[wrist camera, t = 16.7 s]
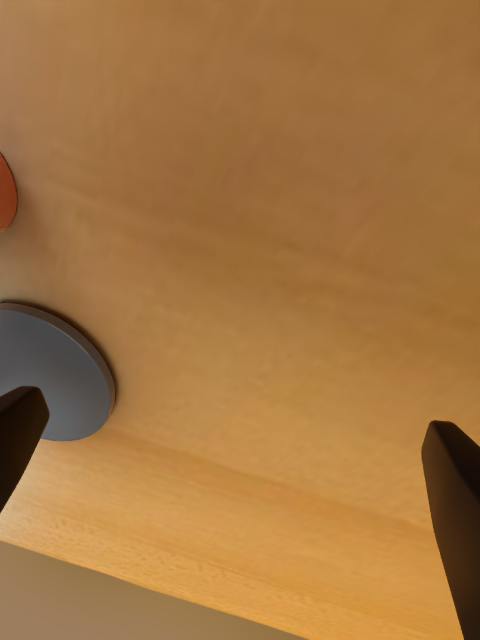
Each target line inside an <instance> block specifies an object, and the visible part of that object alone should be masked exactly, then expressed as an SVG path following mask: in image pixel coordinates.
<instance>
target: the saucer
mask: <svg viewBox="0 0 480 640" xmlns="http://www.w3.org/2000/svg"><path fill="white" fill-rule="evenodd" d="M20 386H36V387H39V388H40V389H41V391H42V393H43V395H44V398H45V401H46V403H47V406H48V408H49V412H50V416H49V421H48V423H47V425H46V427H45V429H44V431H43V434H42V436H41V439H46V440H52V441H73V440H79V439H82V438H85V437H88V436H90V435H92V434H93V433H95V432H96V431H98V430H99V429H100V428H101V427H102V426H103V425H104V423H105V422H106V420H107V418H108V417H109V415H110V414H111V412H112V409H113V407H114V402H115V387H114V381H113V378H112V375H111V372H110V370H109V368H108V366H107V364H106V362H105V361H104V359H103V358H102V356H101V355H100V353H99V352H98V351H97V350H96V348H95V347H94V346H93V345H92V344H91V343H90V342H89V341H88V340H87V339H86V338H85V337H84V336H83V335H82V334H81V333H80V332H78V331H77V330H76V329H75V328H73V327H72V326H70V325H69V324H67V323H66V322H64V321H63V320H61V319H59V318H57V317H56V316H54V315H51V314H49V313H47V312H45V311H42V310H39V309H36V308H33V307H30V306H25V305H21V304H13V303H0V396H2V395H4V394H6V393H8V392H10V391H12V390H14V389H15V388H17V387H20Z"/></svg>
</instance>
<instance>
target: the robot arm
mask: <svg viewBox="0 0 480 640" xmlns="http://www.w3.org/2000/svg"><path fill="white" fill-rule="evenodd" d="M49 416H50V412H49V408H48V406H47V403H46V401H45V398H44V395H43V393H42V391H41V389H40V388H39V387H36V386H20V387H17V388H15V389H14V390H12V391H10V392H8V393H6V394H4V395H2V396H0V513H1V511H2V510H3V508H4V506H5V505H6V503H7V501H8V500H9V498H10V496H11V495H12V493H13V491H14V490H15V488H16V486H17V484H18V483H19V481H20V479H21V477H22V475H23V473H24V471H25V469H26V467H27V465H28V463H29V461H30V459H31V457H32V455H33V453H34V450H35V448H36V446H37V444H38V442H39V440H40V438H41V436H42V434H43V431H44V429H45V427H46V425H47V423H48V421H49ZM421 454H422V463H423V469H424V475H425V481H426V487H427V493H428V499H429V506H430V512H431V518H432V523H433V529H434V533H435V537H436V541H437V544H438V548H439V552H440V555H441V559H442V562H443V566H444V569H445V573H446V576H447V580H448V584H449V587H450V591H451V594H452V598H453V601H454V605H455V608H456V612H457V616H458V619H459V623H460V626H461V630H462V633H463V637H464V640H480V447H479V446H478V445H477V444H476V443H475V442H474V441H473V440H472V439H471V438H470V437H468V436H467V435H466V434H465V433H464V432H463V431H462V430H461V429H460V428H459V427H458V426H457V425H455V424H454V423H452V422H449V421H437V420H434V421H431V422H430V423H429V426H428V429H427V432H426V435H425V439H424V442H423V445H422V452H421Z"/></svg>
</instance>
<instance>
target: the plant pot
mask: <svg viewBox="0 0 480 640" xmlns="http://www.w3.org/2000/svg"><path fill="white" fill-rule="evenodd" d="M16 208H17V193H16V187H15V183H14V180H13V177H12V174H11V172H10V169H9V167H8V165H7V164H6V162H5V160H4V158H3V157H2V155H1V154H0V233H1V232H2V231H4V230H5V229H6V228H7V227H8V226H9V225H10V223H11V222H12V220H13V218H14V216H15V212H16Z"/></svg>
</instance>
